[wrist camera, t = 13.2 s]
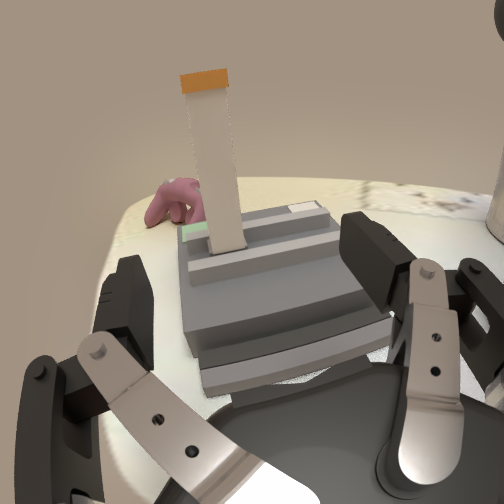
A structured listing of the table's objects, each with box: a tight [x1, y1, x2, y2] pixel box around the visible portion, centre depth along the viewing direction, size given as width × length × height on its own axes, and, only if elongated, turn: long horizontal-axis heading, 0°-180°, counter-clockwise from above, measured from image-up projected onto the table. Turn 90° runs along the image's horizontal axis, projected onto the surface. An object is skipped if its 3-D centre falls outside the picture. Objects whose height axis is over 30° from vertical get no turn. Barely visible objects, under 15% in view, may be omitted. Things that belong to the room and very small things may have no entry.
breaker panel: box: [177, 200, 376, 358], centre depth 26 cm, size 15×14×4 cm
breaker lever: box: [180, 69, 248, 257], centre depth 20 cm, size 3×3×14 cm
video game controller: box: [144, 178, 206, 227], centre depth 34 cm, size 10×5×7 cm, turn 51°
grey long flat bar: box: [197, 306, 393, 398], centre depth 19 cm, size 14×3×1 cm, turn 104°
